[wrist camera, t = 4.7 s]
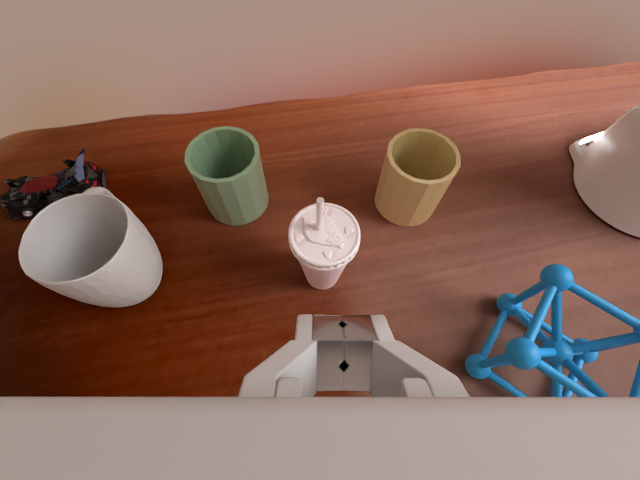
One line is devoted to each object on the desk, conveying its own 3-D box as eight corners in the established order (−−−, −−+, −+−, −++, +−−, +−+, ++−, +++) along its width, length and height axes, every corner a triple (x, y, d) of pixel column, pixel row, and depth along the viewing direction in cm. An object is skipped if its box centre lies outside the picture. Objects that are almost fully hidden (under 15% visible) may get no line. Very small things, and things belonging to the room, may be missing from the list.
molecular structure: (557, 441, 30) (659, 453, 21) (456, 369, 33) (510, 353, 24) (589, 350, 34) (688, 327, 25) (497, 292, 36) (556, 254, 27)
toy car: (108, 201, 41) (89, 181, 38) (2, 229, 39) (-30, 210, 35) (106, 166, 44) (87, 143, 40) (7, 189, 42) (-23, 168, 38)
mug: (179, 302, 35) (134, 264, 26) (91, 330, 34) (11, 300, 25) (164, 208, 41) (123, 151, 32) (88, 228, 39) (22, 174, 31)
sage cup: (252, 167, 44) (239, 116, 37) (279, 208, 41) (272, 162, 34) (198, 191, 42) (173, 143, 35) (223, 236, 39) (201, 194, 32)
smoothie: (317, 238, 39) (319, 157, 27) (362, 270, 37) (385, 198, 25) (282, 278, 37) (265, 209, 24) (327, 313, 35) (334, 258, 23)
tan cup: (408, 168, 44) (427, 118, 37) (447, 209, 41) (476, 163, 34) (362, 192, 42) (372, 145, 35) (399, 237, 39) (419, 195, 32)
